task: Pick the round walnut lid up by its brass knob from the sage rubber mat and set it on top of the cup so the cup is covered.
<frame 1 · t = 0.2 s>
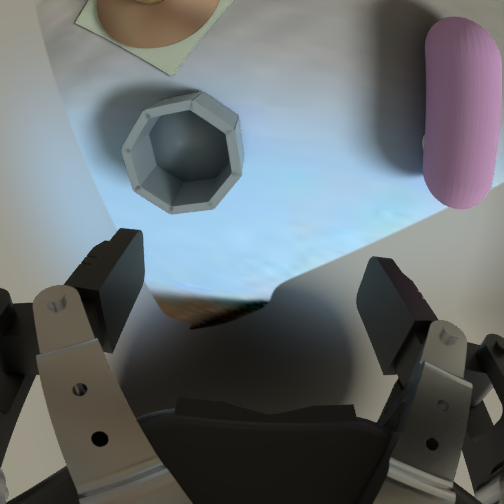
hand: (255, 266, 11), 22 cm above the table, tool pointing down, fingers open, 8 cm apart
toy: (441, 103, 26), on the table
cup: (192, 140, 30), on the table
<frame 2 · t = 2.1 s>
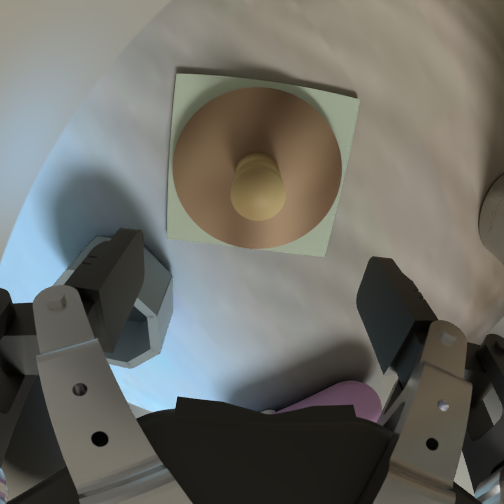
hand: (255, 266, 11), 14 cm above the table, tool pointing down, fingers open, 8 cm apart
toy: (302, 403, 37), on the table
mat: (257, 167, 23), on the table
cup: (123, 282, 28), on the table
lid: (257, 169, 22), resting on mat
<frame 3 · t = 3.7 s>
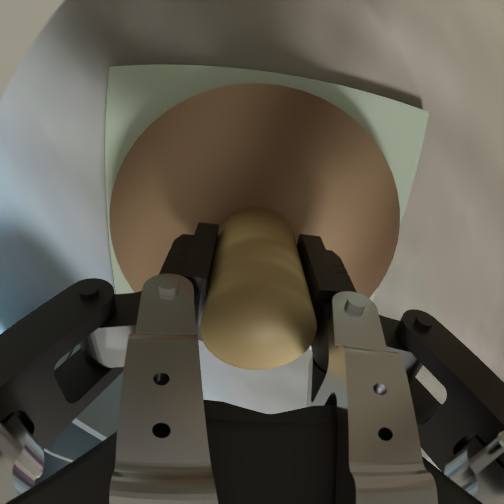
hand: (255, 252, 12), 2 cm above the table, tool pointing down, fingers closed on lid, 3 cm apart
mat: (254, 226, 14), on the table
cup: (78, 366, 19), on the table
lid: (255, 231, 13), point 1 cm above the table, touching gripper, mat
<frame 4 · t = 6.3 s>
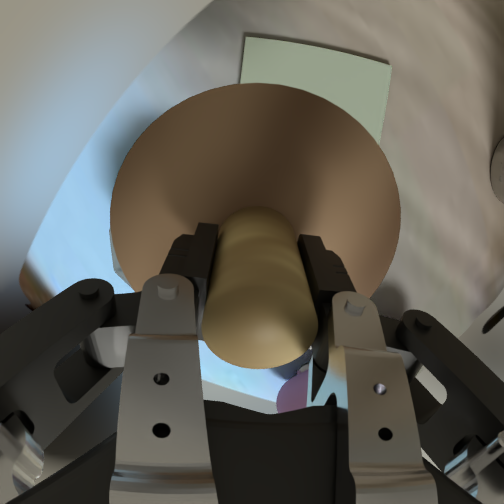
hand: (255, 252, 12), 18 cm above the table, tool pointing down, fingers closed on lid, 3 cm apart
toy: (339, 356, 40), on the table
mat: (312, 117, 25), on the table
lid: (256, 231, 13), point 16 cm above the table, touching gripper
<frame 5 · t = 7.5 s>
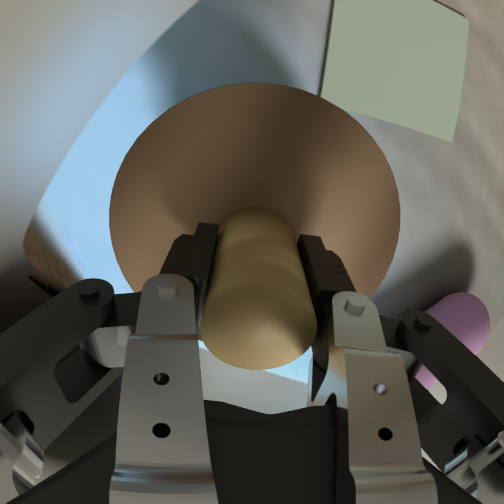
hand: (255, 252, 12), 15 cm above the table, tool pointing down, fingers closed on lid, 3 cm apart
toy: (404, 330, 34), on the table
mat: (402, 53, 19), on the table
lid: (255, 231, 13), point 13 cm above the table, touching gripper
when the fingers open (9 cm above the table, at t = 8.7 s): lid drops 1 cm, resting on cup.
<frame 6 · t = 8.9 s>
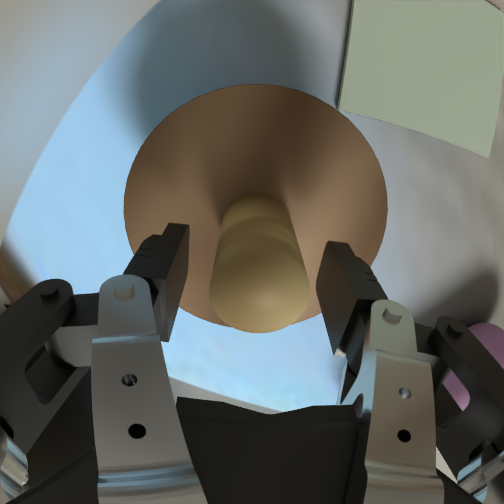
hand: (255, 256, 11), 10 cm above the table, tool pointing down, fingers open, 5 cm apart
toy: (420, 363, 30), on the table
mat: (436, 48, 15), on the table
lid: (256, 217, 14), point 6 cm above the table, touching cup
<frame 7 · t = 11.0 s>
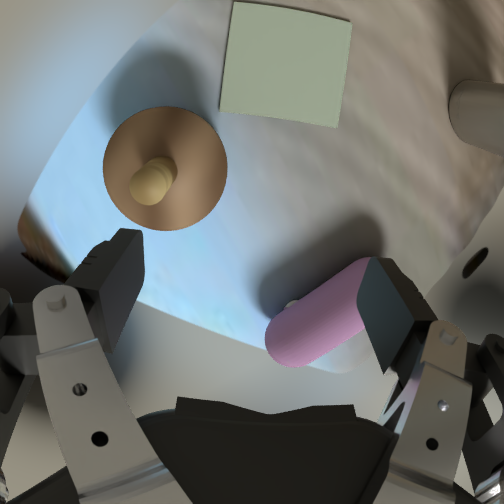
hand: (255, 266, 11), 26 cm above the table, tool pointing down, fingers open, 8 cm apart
toy: (324, 294, 43), on the table
mat: (287, 62, 29), on the table
lid: (164, 168, 28), point 6 cm above the table, touching cup
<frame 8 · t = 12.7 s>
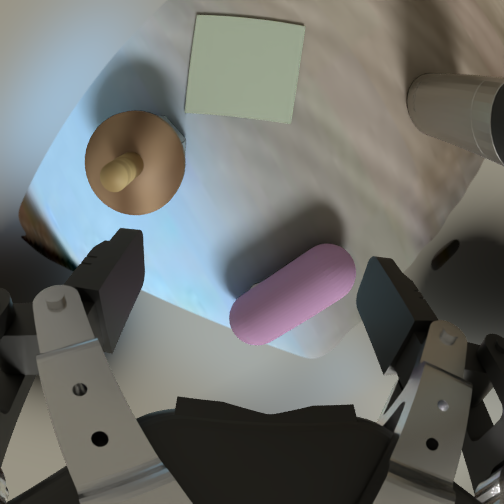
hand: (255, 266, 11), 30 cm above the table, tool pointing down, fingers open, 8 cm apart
toy: (287, 278, 47), on the table
mat: (244, 66, 33), on the table
lid: (134, 162, 32), point 6 cm above the table, touching cup
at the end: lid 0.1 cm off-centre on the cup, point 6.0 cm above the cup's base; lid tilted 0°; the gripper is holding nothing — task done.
